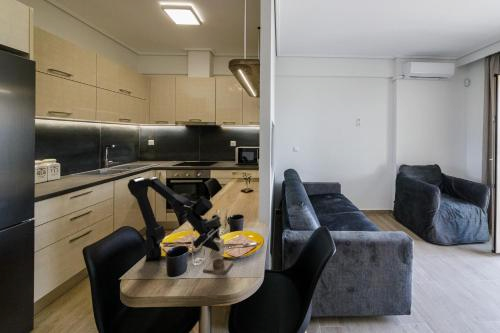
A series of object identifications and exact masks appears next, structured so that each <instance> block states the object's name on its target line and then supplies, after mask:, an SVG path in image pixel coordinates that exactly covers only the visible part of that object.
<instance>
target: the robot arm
mask: <svg viewBox="0 0 500 333" xmlns="http://www.w3.org/2000/svg"><path fill="white" fill-rule="evenodd" d="M149 188H151V189H152V190H153V191H155V192H156V193H157V194H158V195H160V196H161V197H162V198H163V199H165V200H166V201H167V202H168V203H169V204H170V206H171V209H172V210H174V212H176V214H178V215H181V222H185V221H187V222H188V223H189V225H190V226H191V227H192V228H193V229H192V231H193V232H196V233H198V235H199V236H198V237H197V238H196V239H195V240H194V241H193V242H192V243H193V244H192V246H193V247H194V248H195V249H198V247H205V248H208V249H210V250H212V249H213V250H215V251H217V252H218V251H219V250H220V249H219V248H218V246H217V245H216V244H215V242H214V241H213V240H214V239H215V238H221V237H220V228H221V227H222V223H221V221H220V220H221V217H219V215H218V214H213V215H212V216H211V219H209V220H208V219H207V218H206V217H205V218H203V217H204V216H205V215H207V213H209V212H210V211H211V210H212V209H213V203H212V202H211V200H209V199H208V198H207V197H206V198H205V197H204V196H201V197H198V200H197V201H193V200H191V199H189V198H187V197H186V196H184V195H182V194H181V195H180V194H178V193H176V192H175V191H174V190H173V189H171V188H170V187H168V186H167V185H166V184H165V183H163V181H161V180H160V179H159V178H158V177H156V176H153V177H148V178H144V177H138V178H134V179H130V180H128V183H127V190H128V191H129V192H130V195H131V196H133V197H134V198H135V199H136V201H137V205H138V207H139V210H140V213H141V215H142V218H143V221H144V225H145V226H146V228H145V240H144V241H143V242H142V243H141V248H142V250H145V262H152V261H159V260H161V257H162V254H163V253H162V252H163V250H162V246H161V244H162V243H163V241H164V239H165V237H166V231H165V228H164V225H160V224H158V223H157V222H158V221H157V220H156V219H157V218H156V217H155V214H154V210H153V208H152V206H151V203H150V200H149V196H148V193H149V192H148V191H149Z"/></svg>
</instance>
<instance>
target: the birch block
mask: <svg viewBox="0 0 500 333" xmlns="http://www.w3.org/2000/svg"><path fill="white" fill-rule="evenodd" d="M224 239H225V238H222V237H220V238H215V239H214V240H213V241H214V242H215V244H216V245H217V246H218V248H219V249H220V250H219V251H218V252H217V251H215V250H213V249H211V257H213V258H215V257H219V258H221V257H223V256H224V255H225V240H224Z"/></svg>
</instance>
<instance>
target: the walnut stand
mask: <svg viewBox="0 0 500 333" xmlns="http://www.w3.org/2000/svg"><path fill="white" fill-rule="evenodd" d="M232 265H233V260H225V259H224V257H223V256H222V257H221V258H219V257H213V258H212V259H211V260H210V261H209V262H208V263H207V264H206V266H204V268H203V269H202V272H205V273H212V274H216V275H223V276H225V275H226V274H227V272H228V271H229V269H230V268H231V266H232Z"/></svg>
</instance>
